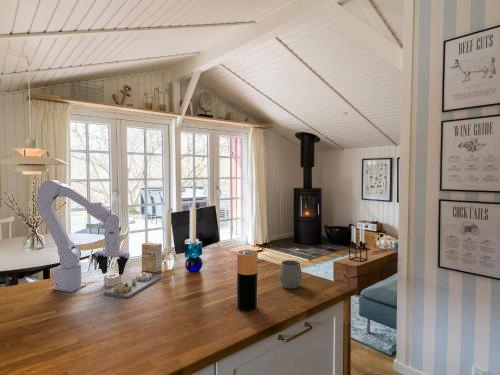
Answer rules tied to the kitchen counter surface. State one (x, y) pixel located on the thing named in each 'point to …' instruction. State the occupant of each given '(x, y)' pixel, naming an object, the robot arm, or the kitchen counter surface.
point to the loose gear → (112, 279)
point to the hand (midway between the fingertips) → (112, 273)
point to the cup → (290, 274)
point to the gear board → (132, 285)
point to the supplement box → (151, 257)
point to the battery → (247, 280)
